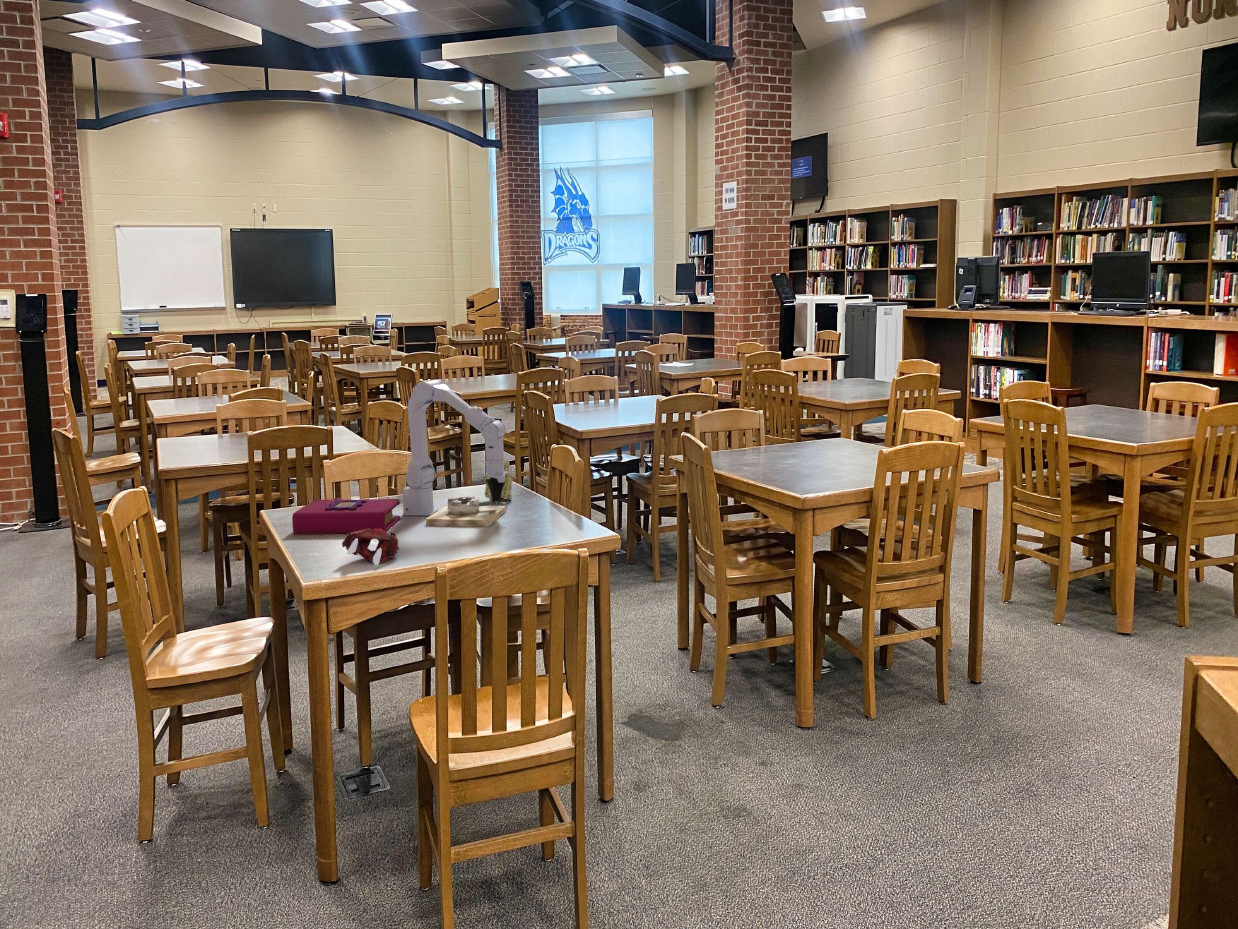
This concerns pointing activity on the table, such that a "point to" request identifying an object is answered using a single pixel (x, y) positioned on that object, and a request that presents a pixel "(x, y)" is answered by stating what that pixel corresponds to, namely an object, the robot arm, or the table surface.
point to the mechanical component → (507, 486)
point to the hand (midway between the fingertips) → (496, 501)
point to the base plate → (467, 517)
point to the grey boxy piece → (466, 505)
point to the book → (345, 516)
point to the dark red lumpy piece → (372, 544)
